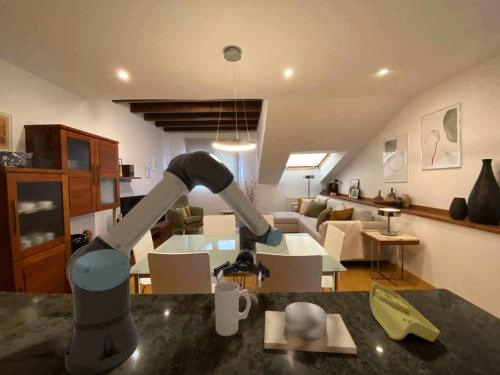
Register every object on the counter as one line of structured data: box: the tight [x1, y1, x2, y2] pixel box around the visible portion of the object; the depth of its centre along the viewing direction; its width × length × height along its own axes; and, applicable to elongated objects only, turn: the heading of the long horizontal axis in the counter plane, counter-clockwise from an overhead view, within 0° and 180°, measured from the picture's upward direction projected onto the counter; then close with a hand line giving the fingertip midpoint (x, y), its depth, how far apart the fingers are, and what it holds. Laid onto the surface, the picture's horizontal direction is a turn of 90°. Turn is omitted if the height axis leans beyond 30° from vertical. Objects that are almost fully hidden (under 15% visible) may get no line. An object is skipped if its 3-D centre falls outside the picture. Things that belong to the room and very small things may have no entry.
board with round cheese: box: [263, 301, 358, 355], centre depth 63 cm, size 22×14×6 cm, turn 85°
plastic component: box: [369, 282, 441, 342], centre depth 69 cm, size 20×7×10 cm
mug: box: [214, 281, 252, 337], centre depth 65 cm, size 10×7×12 cm, turn 95°
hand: (238, 282), depth 75 cm, fingers open, 13 cm apart
